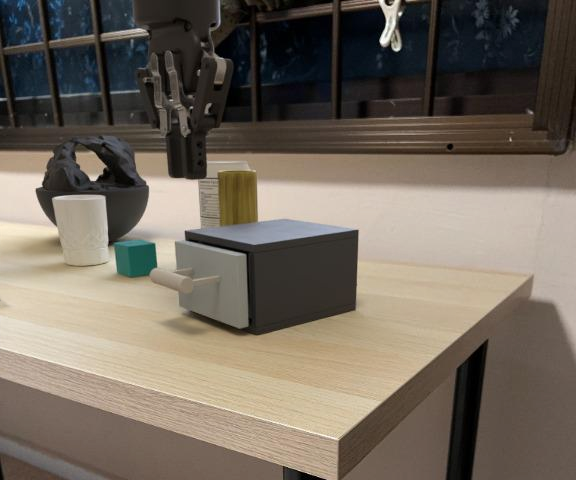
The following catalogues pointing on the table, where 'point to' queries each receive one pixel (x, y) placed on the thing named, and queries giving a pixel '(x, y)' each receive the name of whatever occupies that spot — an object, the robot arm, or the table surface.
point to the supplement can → (214, 191)
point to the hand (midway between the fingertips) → (187, 177)
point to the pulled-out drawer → (210, 281)
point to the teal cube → (135, 257)
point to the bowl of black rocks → (98, 181)
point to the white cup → (82, 228)
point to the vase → (237, 197)
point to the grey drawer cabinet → (292, 269)
